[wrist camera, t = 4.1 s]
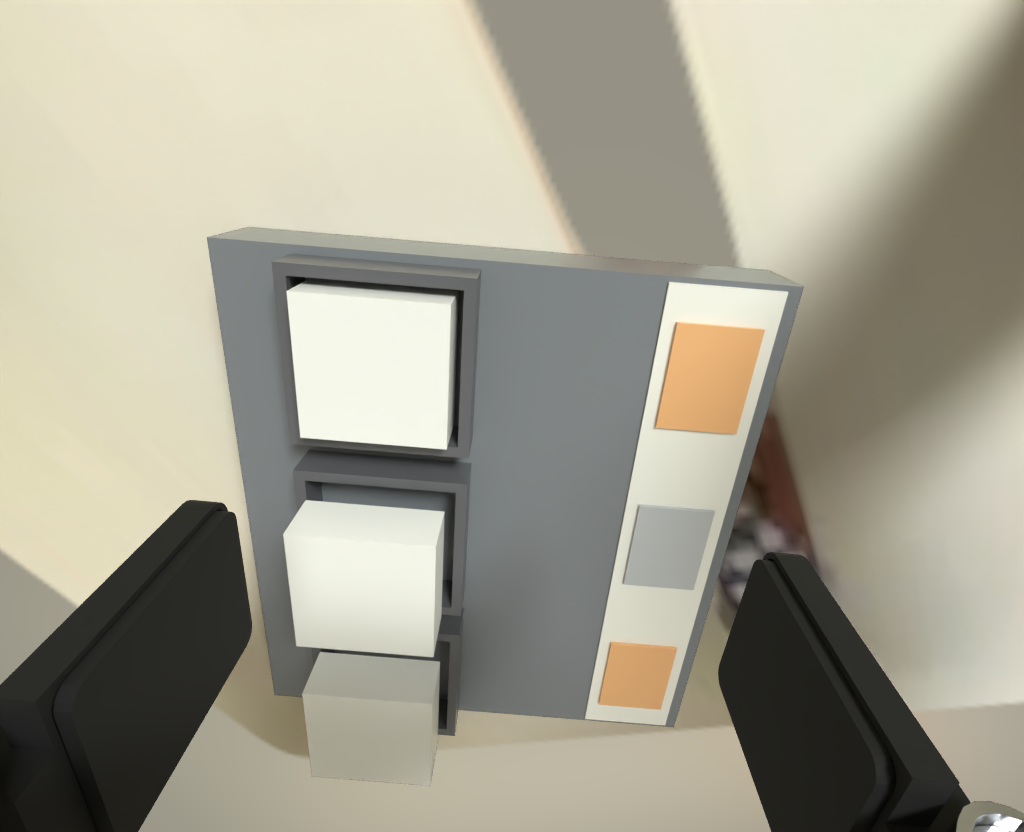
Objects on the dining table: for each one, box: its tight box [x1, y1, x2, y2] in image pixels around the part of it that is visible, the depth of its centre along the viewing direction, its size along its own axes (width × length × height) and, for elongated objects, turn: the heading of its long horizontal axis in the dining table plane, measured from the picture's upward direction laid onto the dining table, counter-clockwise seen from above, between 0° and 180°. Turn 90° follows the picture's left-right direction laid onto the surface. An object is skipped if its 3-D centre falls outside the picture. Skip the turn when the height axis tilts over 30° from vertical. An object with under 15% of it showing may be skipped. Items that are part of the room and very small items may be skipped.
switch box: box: [207, 227, 804, 736], centre depth 24 cm, size 20×22×5 cm
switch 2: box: [283, 500, 445, 657], centre depth 20 cm, size 5×5×2 cm
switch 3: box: [302, 652, 440, 786], centre depth 23 cm, size 5×5×2 cm
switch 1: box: [287, 278, 459, 450], centre depth 19 cm, size 5×5×2 cm
